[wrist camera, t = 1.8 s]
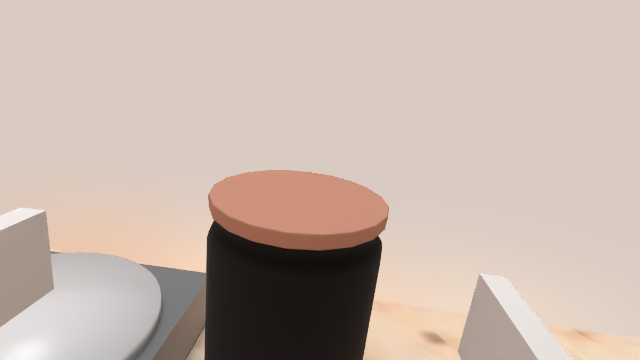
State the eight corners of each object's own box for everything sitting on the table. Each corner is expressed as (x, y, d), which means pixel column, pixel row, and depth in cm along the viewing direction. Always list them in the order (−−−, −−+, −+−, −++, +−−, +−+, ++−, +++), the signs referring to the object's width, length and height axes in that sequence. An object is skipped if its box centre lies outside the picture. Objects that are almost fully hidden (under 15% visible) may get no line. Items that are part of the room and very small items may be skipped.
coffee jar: (304, 349, 34) (326, 166, 28) (379, 451, 25) (429, 217, 20) (187, 392, 28) (187, 173, 23) (232, 544, 19) (250, 250, 14)
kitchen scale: (213, 310, 37) (215, 258, 36) (57, 583, 17) (42, 494, 15) (31, 284, 38) (24, 231, 36) (-321, 515, 18) (-377, 424, 16)
